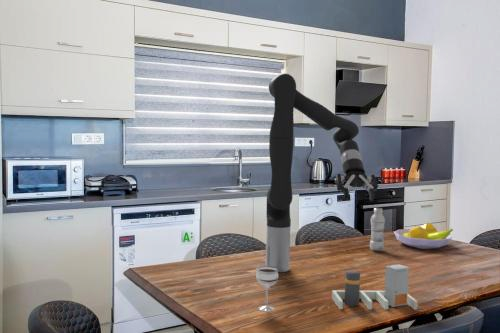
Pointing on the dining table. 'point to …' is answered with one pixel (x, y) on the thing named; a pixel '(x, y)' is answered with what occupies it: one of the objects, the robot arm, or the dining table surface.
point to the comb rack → (369, 298)
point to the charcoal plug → (352, 288)
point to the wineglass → (267, 282)
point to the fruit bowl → (424, 236)
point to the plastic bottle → (377, 230)
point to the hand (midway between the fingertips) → (360, 199)
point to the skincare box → (396, 285)
